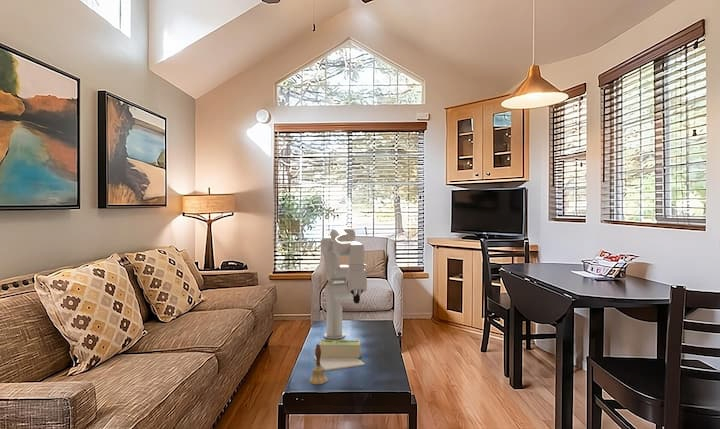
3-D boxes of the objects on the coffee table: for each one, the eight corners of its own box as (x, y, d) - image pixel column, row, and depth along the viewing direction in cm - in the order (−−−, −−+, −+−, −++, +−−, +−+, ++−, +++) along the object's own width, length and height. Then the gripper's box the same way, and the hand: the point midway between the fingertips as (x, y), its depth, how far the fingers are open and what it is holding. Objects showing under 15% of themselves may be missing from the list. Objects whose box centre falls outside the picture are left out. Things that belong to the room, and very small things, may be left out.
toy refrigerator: (359, 343, 216) (318, 343, 218) (360, 357, 217) (318, 357, 218) (360, 338, 224) (320, 338, 226) (360, 352, 224) (321, 352, 226)
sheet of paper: (313, 357, 220) (313, 356, 220) (349, 352, 227) (349, 351, 227) (324, 371, 201) (324, 369, 201) (364, 365, 208) (364, 363, 208)
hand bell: (306, 383, 187) (306, 346, 186) (313, 376, 195) (313, 341, 194) (324, 385, 184) (323, 348, 184) (330, 378, 192) (330, 342, 192)
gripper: (367, 265, 226) (367, 300, 226) (340, 267, 221) (340, 302, 221) (372, 267, 219) (372, 303, 219) (345, 269, 214) (345, 305, 214)
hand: (356, 302), depth 220 cm, fingers closed
